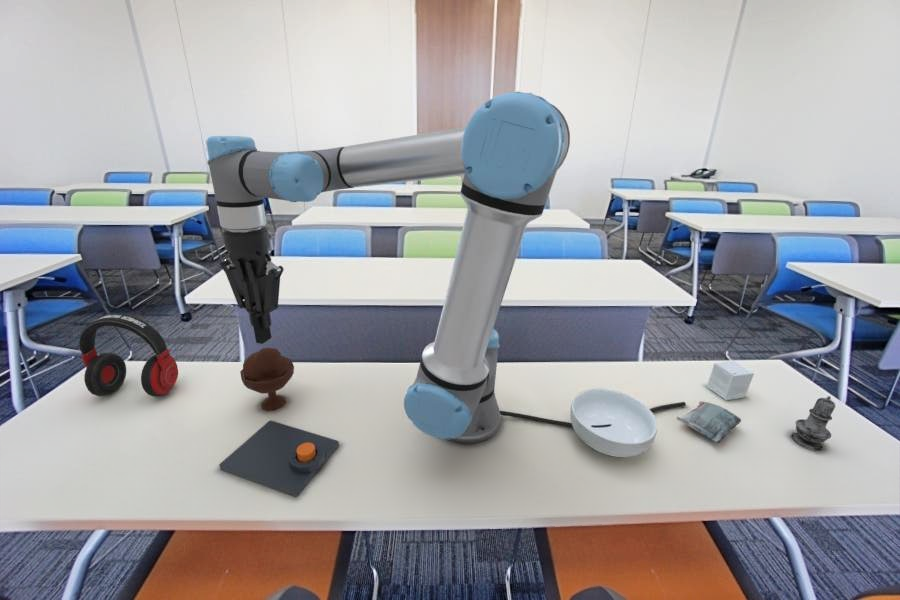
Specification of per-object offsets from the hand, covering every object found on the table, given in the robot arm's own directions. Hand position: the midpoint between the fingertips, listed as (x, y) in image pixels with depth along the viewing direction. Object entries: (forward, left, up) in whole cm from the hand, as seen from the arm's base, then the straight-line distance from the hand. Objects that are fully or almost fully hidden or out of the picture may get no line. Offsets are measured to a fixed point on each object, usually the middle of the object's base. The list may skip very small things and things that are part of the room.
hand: (263, 340), depth 82 cm
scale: (-10, +11, -18) cm, 24 cm away
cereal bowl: (-70, -18, -19) cm, 75 cm away
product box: (-99, -47, -19) cm, 112 cm away
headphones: (+35, +6, -19) cm, 40 cm away
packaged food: (-91, -30, -19) cm, 98 cm away
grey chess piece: (-111, -33, -19) cm, 118 cm away
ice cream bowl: (+3, -2, -19) cm, 19 cm away
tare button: (-16, +11, -16) cm, 25 cm away
